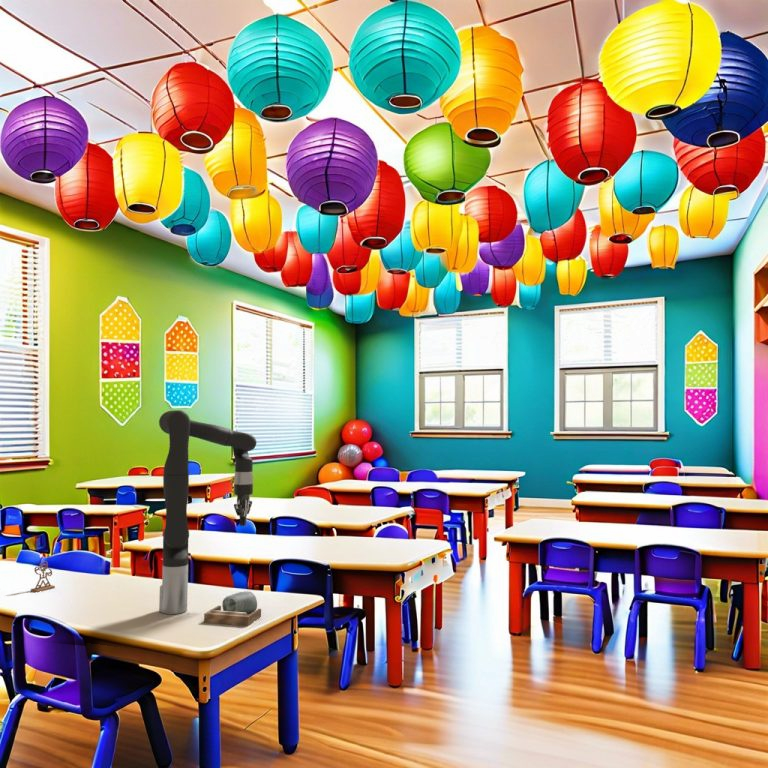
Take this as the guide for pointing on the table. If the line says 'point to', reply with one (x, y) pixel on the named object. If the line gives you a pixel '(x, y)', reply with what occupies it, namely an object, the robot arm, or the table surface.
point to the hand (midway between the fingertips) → (242, 525)
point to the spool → (240, 602)
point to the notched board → (231, 617)
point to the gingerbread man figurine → (42, 588)
